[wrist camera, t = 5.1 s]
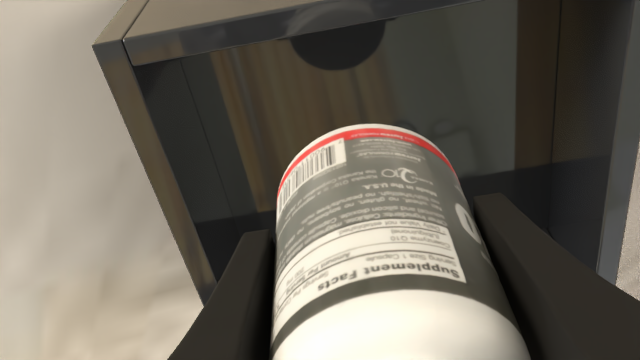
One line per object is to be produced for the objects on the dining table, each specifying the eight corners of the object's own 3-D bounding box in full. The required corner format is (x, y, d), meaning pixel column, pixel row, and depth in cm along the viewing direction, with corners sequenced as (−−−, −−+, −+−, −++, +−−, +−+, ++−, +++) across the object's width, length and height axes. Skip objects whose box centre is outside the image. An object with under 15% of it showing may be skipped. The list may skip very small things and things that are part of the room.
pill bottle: (450, 254, 16) (563, 593, 9) (287, 268, 16) (282, 614, 10) (460, 108, 14) (628, 433, 7) (265, 125, 14) (235, 464, 7)
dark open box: (582, -103, 18) (676, -68, 14) (557, 225, 26) (611, 316, 21) (137, -15, 19) (90, 45, 15) (241, 276, 27) (231, 371, 22)
